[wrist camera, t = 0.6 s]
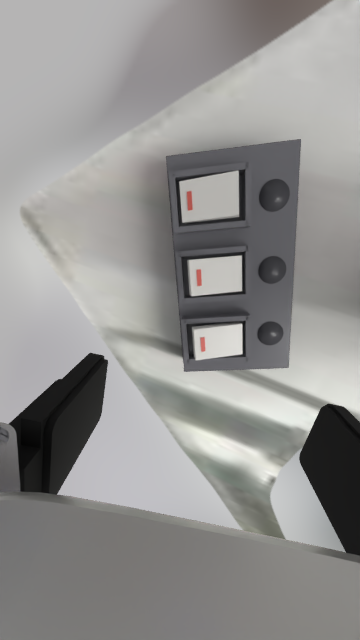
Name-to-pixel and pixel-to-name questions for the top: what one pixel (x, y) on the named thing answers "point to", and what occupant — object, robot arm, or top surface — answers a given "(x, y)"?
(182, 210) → the rocker
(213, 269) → the middle rocker
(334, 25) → the top surface
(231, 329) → the rocker
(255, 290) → the rocker switch panel
